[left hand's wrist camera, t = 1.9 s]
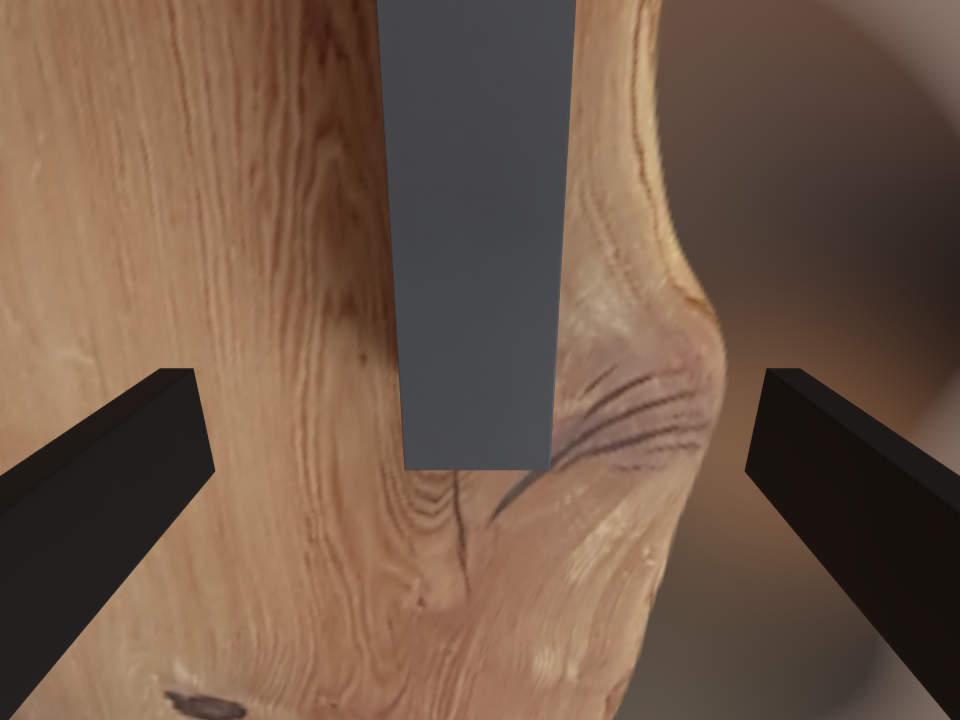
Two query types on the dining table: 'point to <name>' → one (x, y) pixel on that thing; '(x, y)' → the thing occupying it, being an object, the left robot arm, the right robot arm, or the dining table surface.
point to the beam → (476, 222)
